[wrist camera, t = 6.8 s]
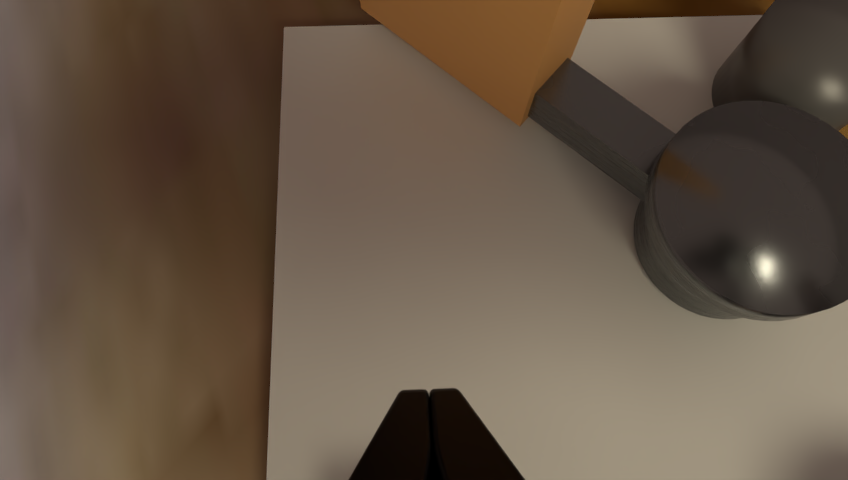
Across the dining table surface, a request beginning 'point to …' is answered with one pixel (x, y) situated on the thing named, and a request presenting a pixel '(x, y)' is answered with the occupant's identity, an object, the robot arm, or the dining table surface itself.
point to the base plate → (535, 264)
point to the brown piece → (663, 159)
